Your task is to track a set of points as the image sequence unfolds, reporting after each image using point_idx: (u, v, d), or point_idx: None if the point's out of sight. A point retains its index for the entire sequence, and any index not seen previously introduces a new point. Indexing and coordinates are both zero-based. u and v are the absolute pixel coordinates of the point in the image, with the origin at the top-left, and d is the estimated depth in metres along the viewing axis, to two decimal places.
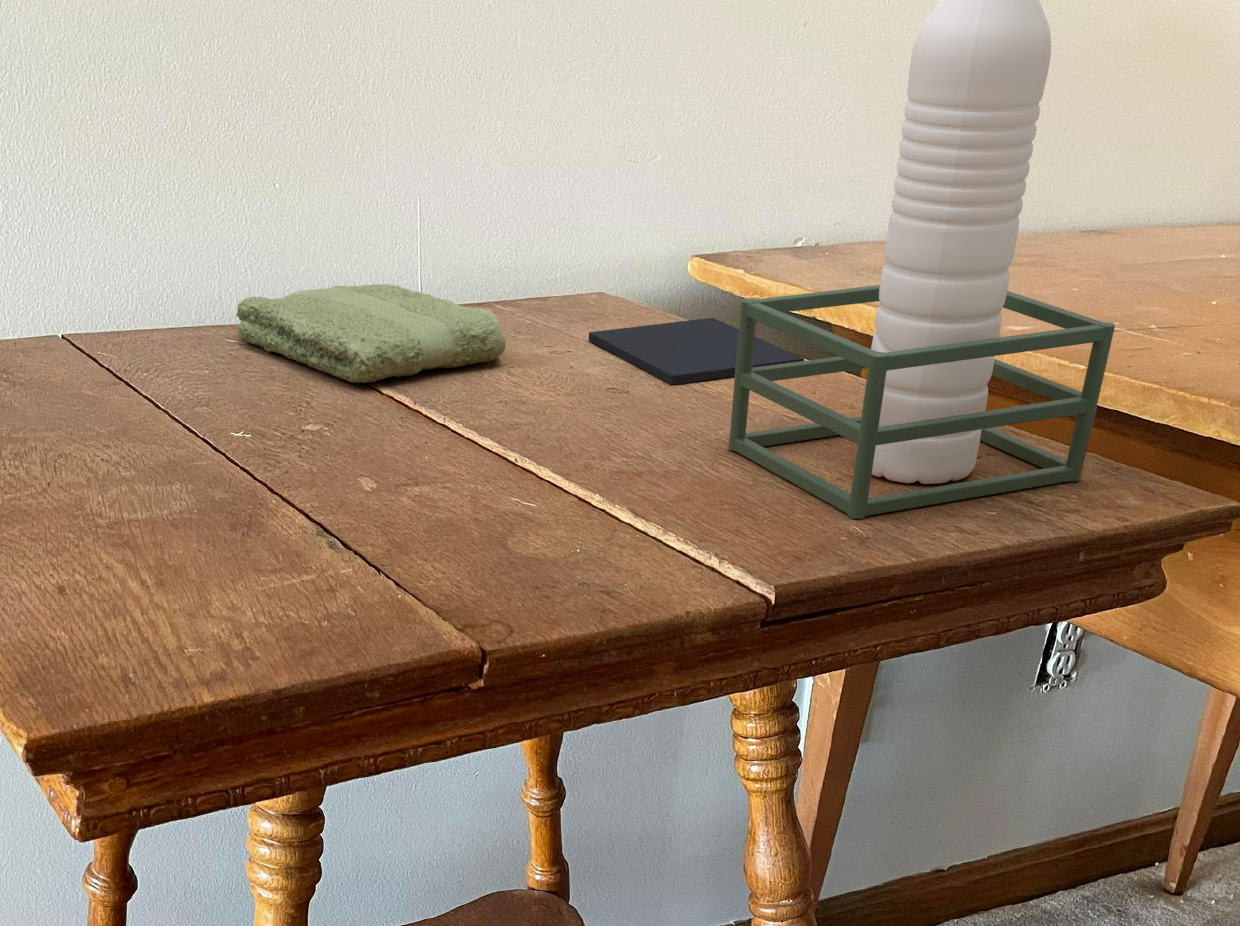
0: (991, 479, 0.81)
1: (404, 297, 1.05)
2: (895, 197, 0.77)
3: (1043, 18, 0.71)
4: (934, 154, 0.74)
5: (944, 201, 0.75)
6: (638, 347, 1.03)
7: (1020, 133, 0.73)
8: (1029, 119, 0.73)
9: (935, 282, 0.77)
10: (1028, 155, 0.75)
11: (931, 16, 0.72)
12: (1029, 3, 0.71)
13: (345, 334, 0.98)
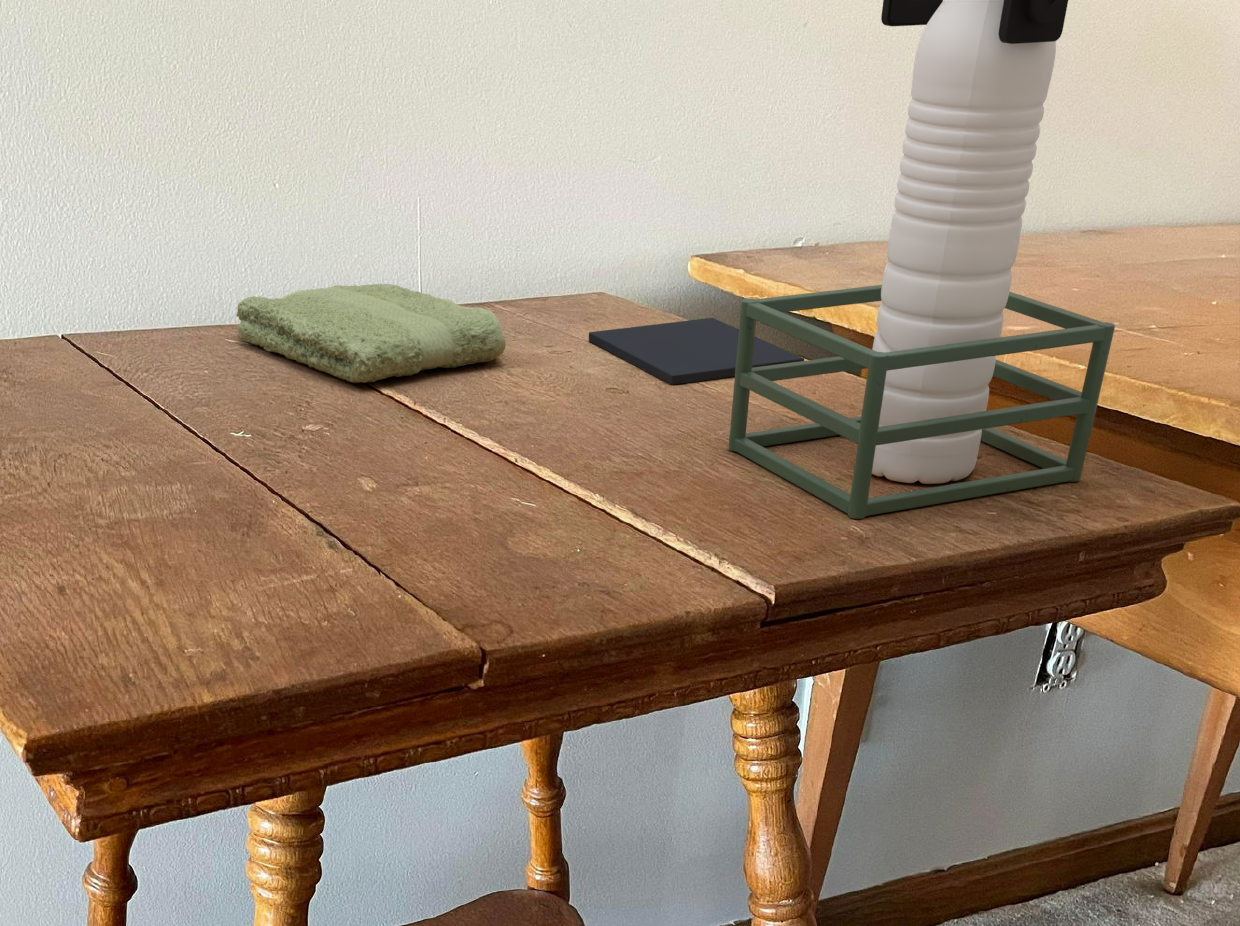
0: (991, 479, 0.81)
1: (404, 297, 1.05)
2: (898, 196, 0.77)
3: None
4: (937, 154, 0.74)
5: (947, 202, 0.75)
6: (638, 347, 1.03)
7: (1024, 133, 0.73)
8: (1032, 119, 0.73)
9: (937, 282, 0.77)
10: (1032, 156, 0.74)
11: (936, 15, 0.72)
12: None
13: (345, 334, 0.98)
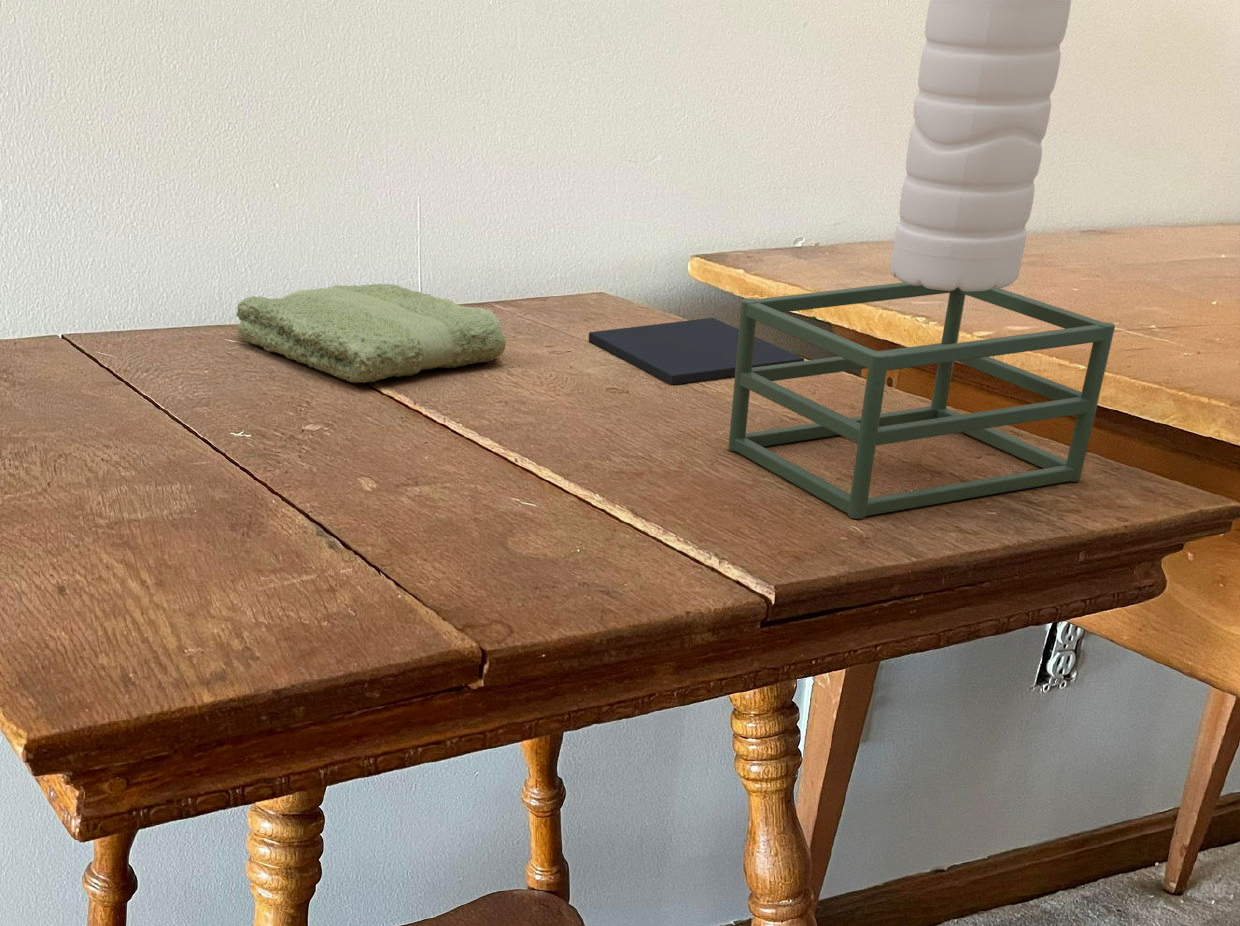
0: (991, 479, 0.81)
1: (404, 297, 1.05)
2: None
3: None
4: None
5: None
6: (638, 347, 1.03)
7: None
8: None
9: (981, 56, 0.71)
10: None
11: None
12: None
13: (345, 334, 0.98)
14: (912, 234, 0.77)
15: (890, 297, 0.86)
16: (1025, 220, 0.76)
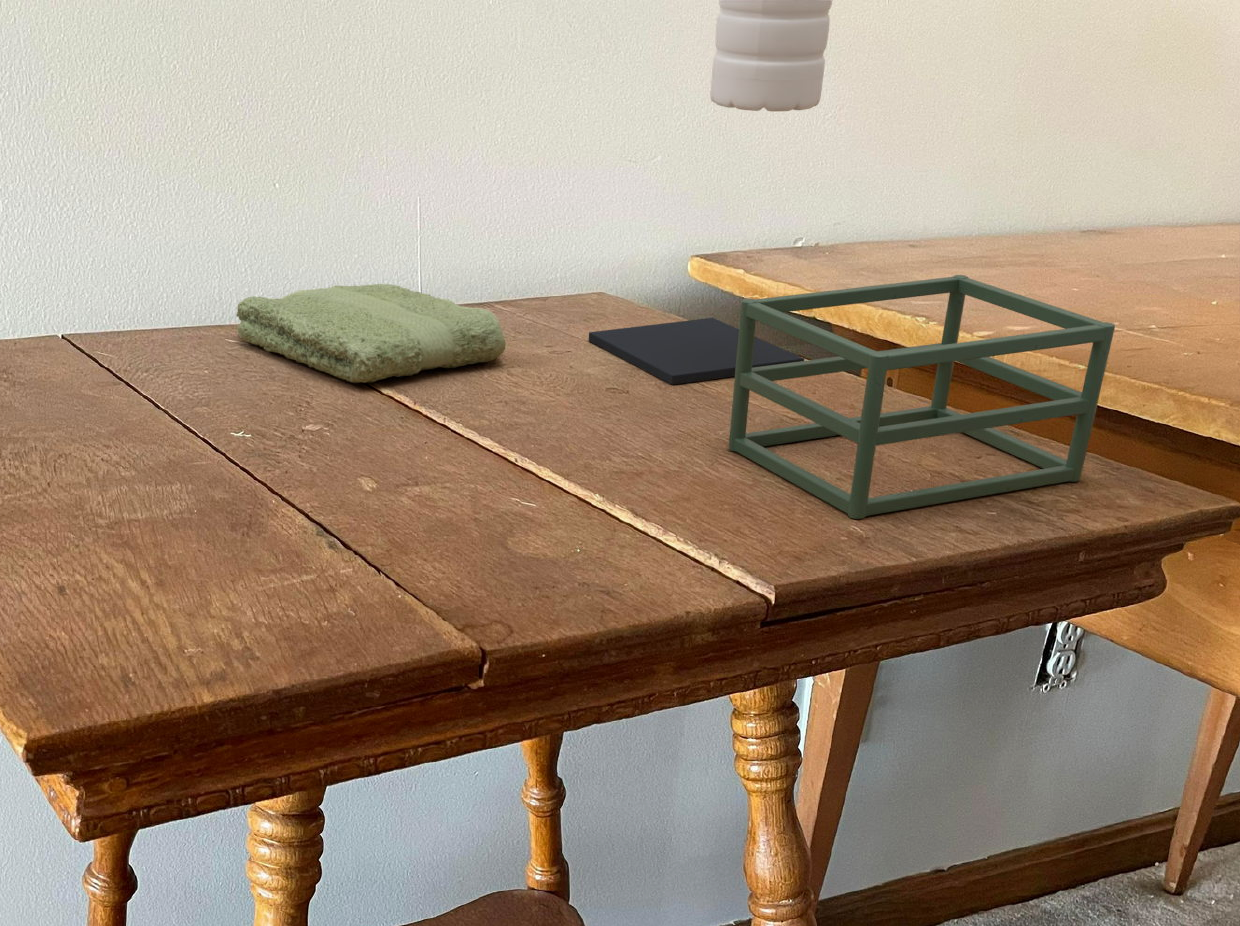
0: (991, 479, 0.81)
1: (404, 297, 1.05)
2: None
3: None
4: None
5: None
6: (638, 347, 1.03)
7: None
8: None
9: None
10: None
11: None
12: None
13: (345, 334, 0.98)
14: (724, 60, 0.88)
15: (890, 297, 0.86)
16: (821, 48, 0.88)
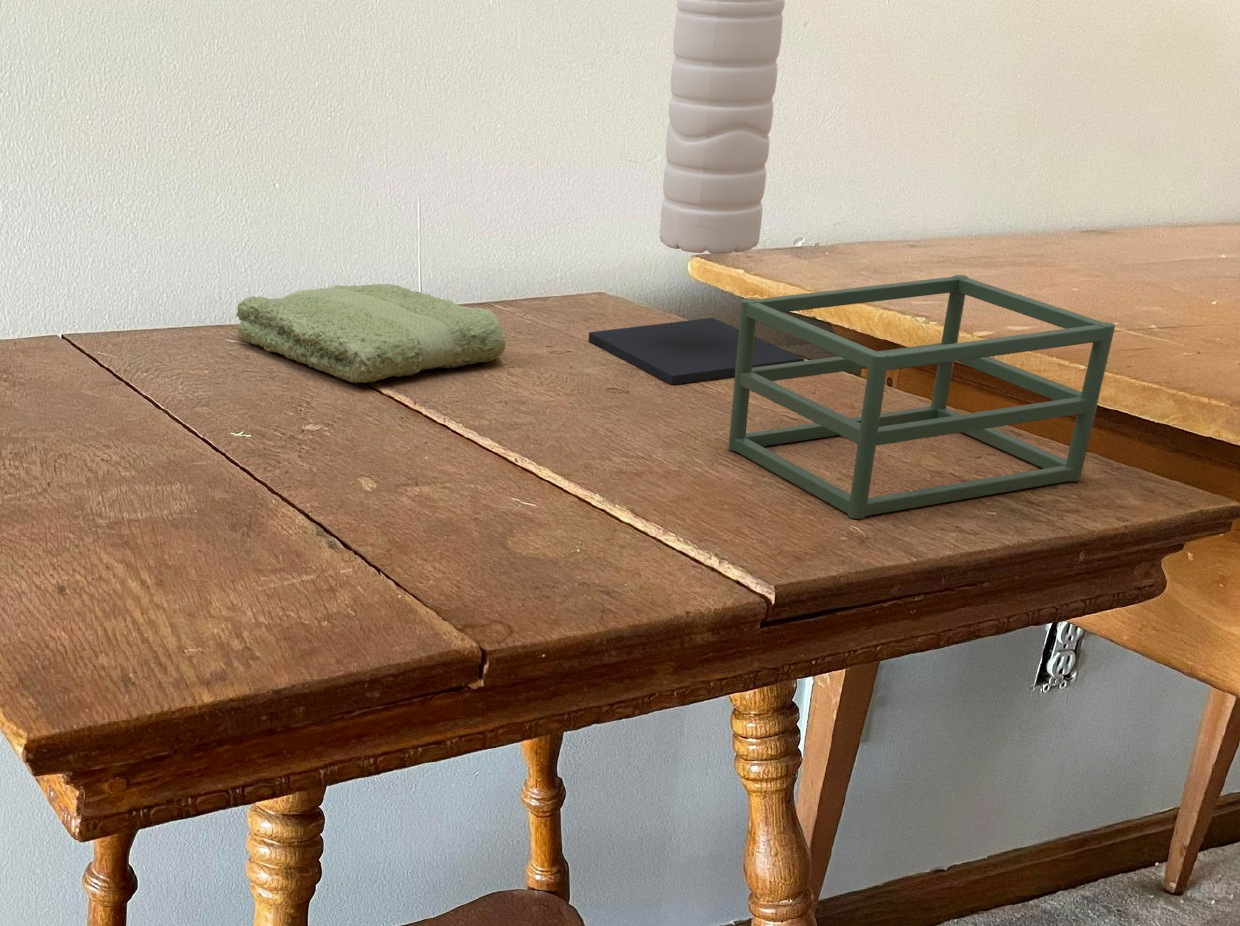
0: (991, 479, 0.81)
1: (404, 297, 1.05)
2: None
3: None
4: None
5: None
6: (638, 347, 1.03)
7: None
8: None
9: (710, 69, 0.91)
10: None
11: None
12: None
13: (345, 334, 0.98)
14: (671, 207, 0.97)
15: (890, 297, 0.86)
16: (758, 197, 0.97)
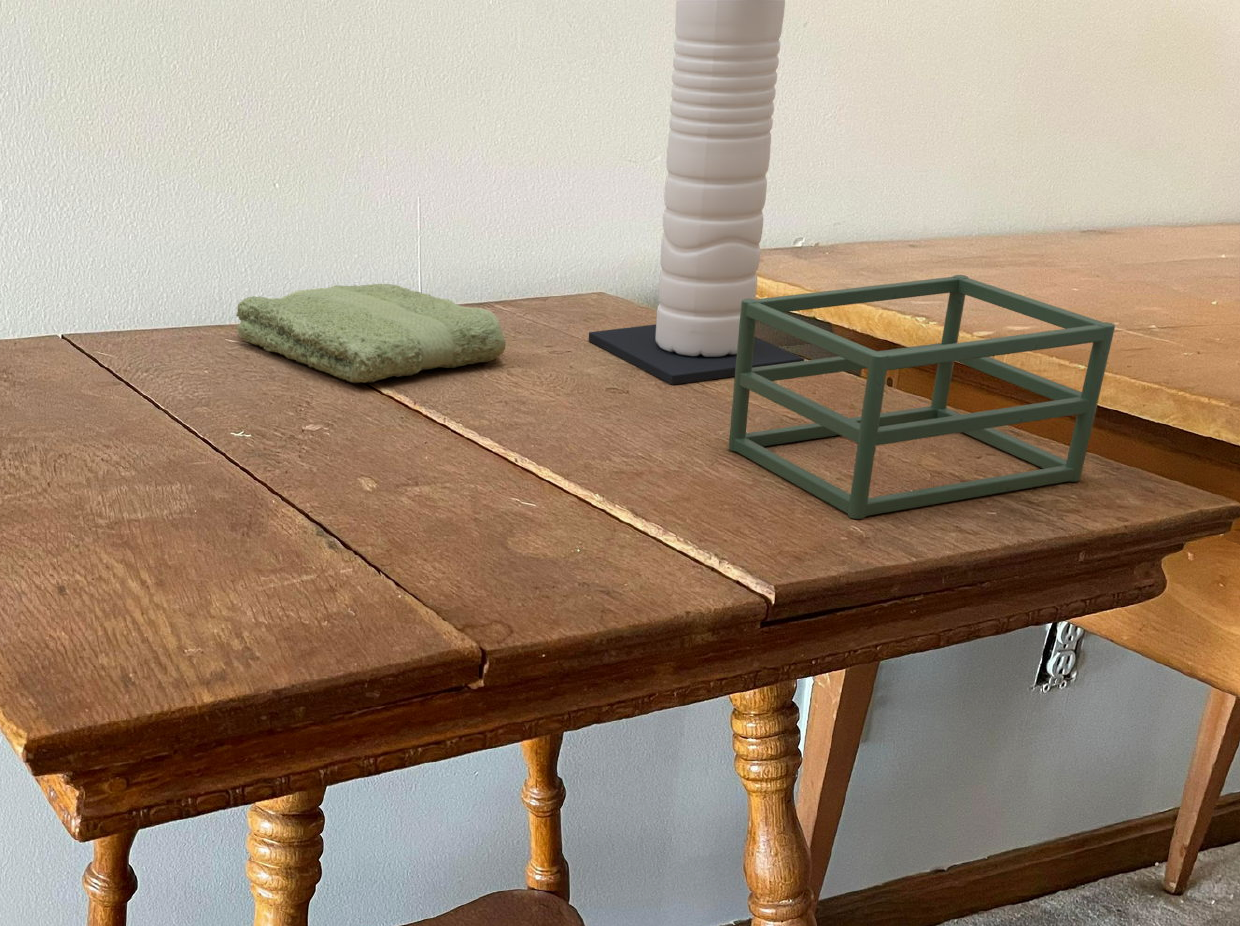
0: (991, 479, 0.81)
1: (404, 297, 1.05)
2: (670, 117, 0.96)
3: None
4: (694, 80, 0.92)
5: (704, 119, 0.93)
6: (638, 347, 1.03)
7: (761, 63, 0.92)
8: (768, 51, 0.91)
9: (702, 186, 0.95)
10: (771, 82, 0.93)
11: None
12: None
13: (345, 334, 0.98)
14: (666, 313, 1.01)
15: (890, 297, 0.86)
16: None
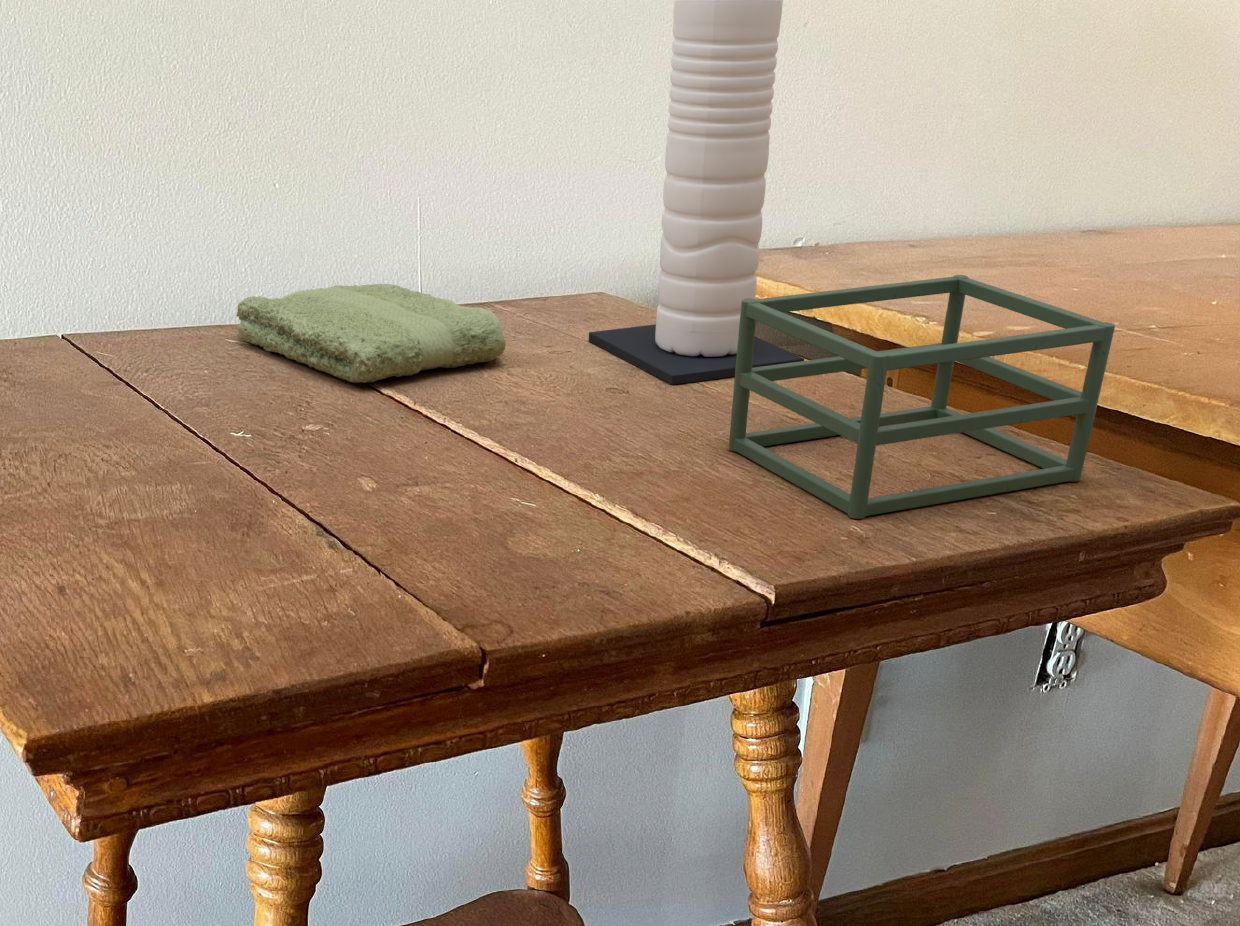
0: (991, 479, 0.81)
1: (404, 297, 1.05)
2: (669, 117, 0.96)
3: None
4: (692, 80, 0.92)
5: (703, 119, 0.93)
6: (638, 347, 1.03)
7: (759, 62, 0.92)
8: (766, 51, 0.92)
9: (701, 185, 0.95)
10: (769, 81, 0.93)
11: None
12: None
13: (345, 334, 0.98)
14: (665, 314, 1.01)
15: (890, 297, 0.86)
16: None
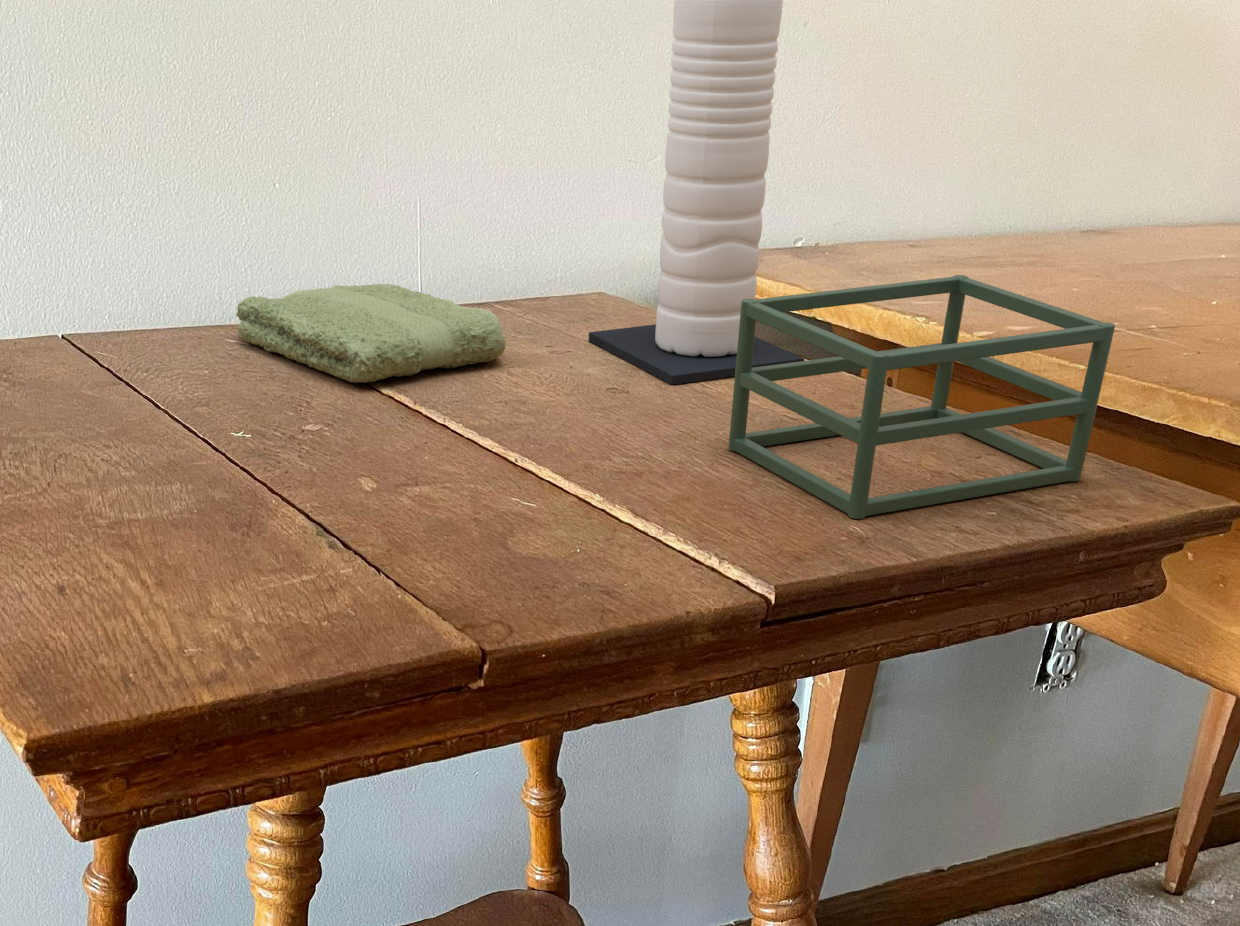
0: (991, 479, 0.81)
1: (404, 297, 1.05)
2: (669, 117, 0.96)
3: None
4: (692, 80, 0.92)
5: (703, 119, 0.93)
6: (638, 347, 1.03)
7: (759, 62, 0.92)
8: (766, 51, 0.92)
9: (701, 185, 0.95)
10: (769, 81, 0.93)
11: None
12: None
13: (345, 334, 0.98)
14: (665, 314, 1.01)
15: (890, 297, 0.86)
16: None
